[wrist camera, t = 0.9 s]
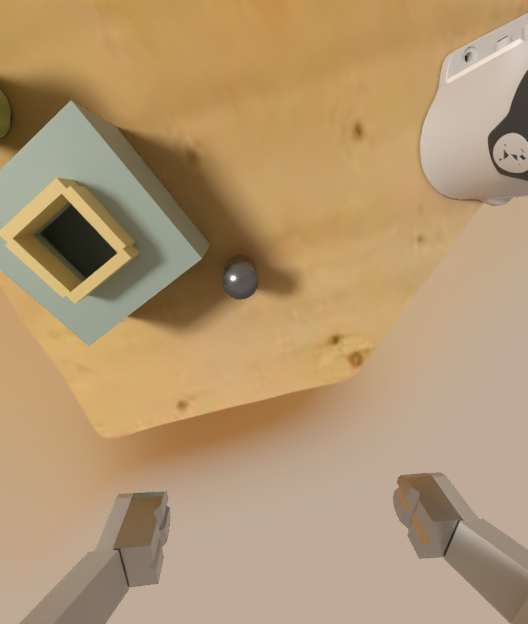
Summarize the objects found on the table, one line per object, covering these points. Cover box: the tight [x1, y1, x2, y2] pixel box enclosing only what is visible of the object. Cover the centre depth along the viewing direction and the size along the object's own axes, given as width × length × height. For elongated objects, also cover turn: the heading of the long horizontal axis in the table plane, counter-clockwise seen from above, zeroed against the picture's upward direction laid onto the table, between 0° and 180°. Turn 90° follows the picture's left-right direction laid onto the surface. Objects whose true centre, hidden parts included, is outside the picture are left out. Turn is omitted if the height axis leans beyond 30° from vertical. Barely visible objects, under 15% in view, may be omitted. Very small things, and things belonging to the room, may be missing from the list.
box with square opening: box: [0, 100, 210, 346], centre depth 30 cm, size 16×16×12 cm
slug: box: [223, 256, 258, 299], centre depth 35 cm, size 4×4×6 cm
